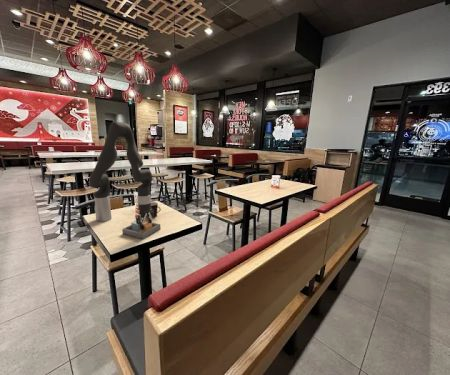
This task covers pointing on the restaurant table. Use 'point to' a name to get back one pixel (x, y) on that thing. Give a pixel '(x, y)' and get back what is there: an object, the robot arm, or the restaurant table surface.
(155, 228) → the tray
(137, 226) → the blue block
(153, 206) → the coffee mug
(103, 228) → the restaurant table surface
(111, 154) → the robot arm
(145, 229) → the orange block
